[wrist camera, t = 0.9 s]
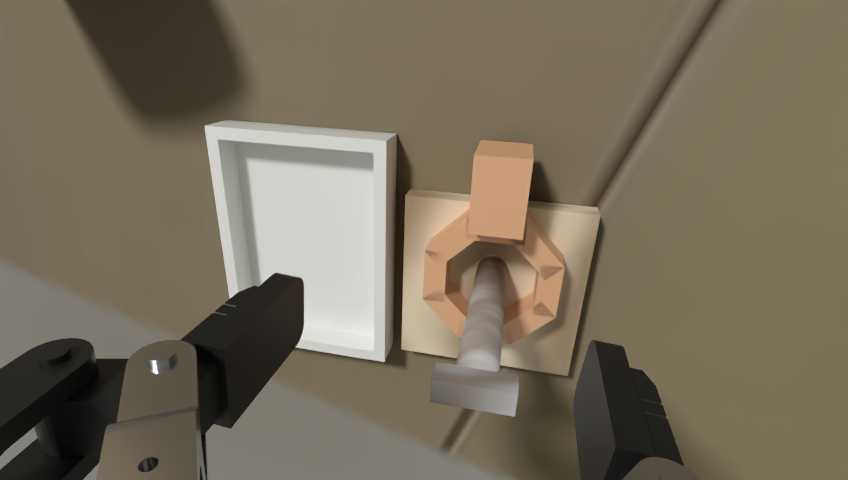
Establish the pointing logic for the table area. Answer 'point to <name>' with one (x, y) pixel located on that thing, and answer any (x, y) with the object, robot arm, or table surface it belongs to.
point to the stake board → (519, 282)
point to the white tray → (312, 224)
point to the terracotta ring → (496, 241)
